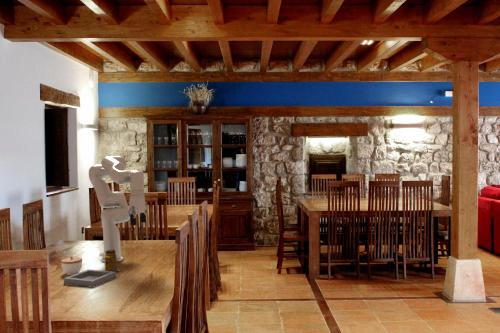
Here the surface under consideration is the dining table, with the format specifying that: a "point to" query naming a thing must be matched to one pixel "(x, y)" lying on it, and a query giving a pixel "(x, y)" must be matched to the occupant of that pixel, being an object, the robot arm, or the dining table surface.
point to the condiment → (111, 261)
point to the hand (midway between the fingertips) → (138, 223)
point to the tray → (90, 278)
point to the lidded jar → (71, 265)
